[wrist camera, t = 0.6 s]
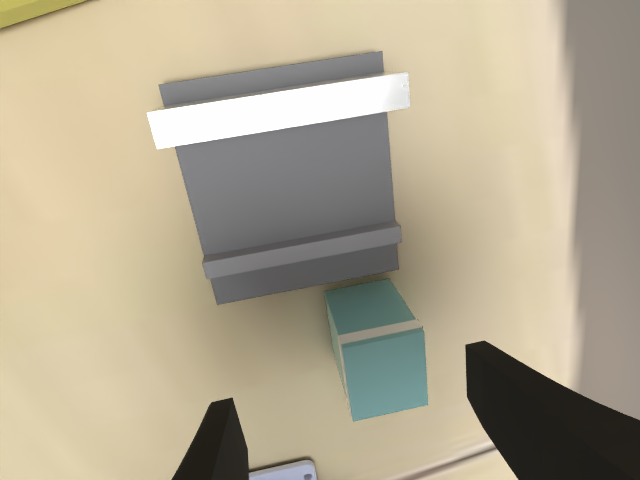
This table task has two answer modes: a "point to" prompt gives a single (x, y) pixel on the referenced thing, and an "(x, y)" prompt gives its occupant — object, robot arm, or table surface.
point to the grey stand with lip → (290, 189)
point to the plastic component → (29, 9)
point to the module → (377, 349)
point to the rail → (279, 108)
